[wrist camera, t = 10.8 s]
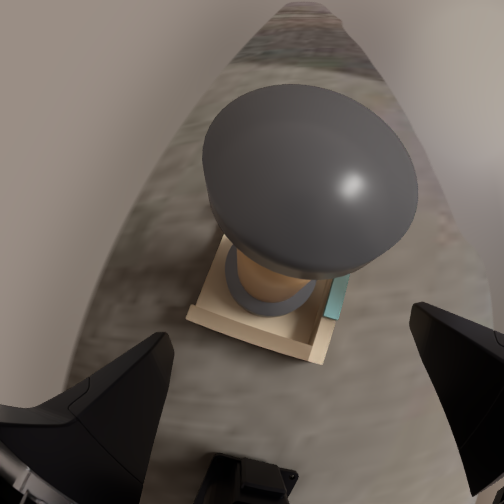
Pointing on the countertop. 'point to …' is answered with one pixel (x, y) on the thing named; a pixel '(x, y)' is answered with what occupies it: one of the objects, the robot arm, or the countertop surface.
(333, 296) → the divided tray
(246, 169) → the bobbin
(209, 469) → the robot arm
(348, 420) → the countertop surface
